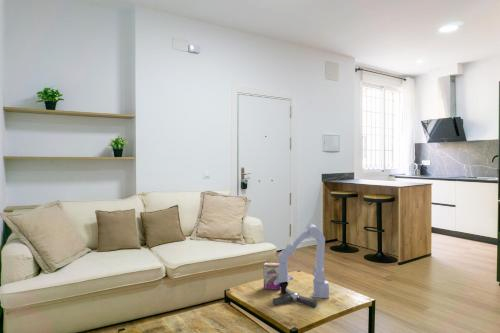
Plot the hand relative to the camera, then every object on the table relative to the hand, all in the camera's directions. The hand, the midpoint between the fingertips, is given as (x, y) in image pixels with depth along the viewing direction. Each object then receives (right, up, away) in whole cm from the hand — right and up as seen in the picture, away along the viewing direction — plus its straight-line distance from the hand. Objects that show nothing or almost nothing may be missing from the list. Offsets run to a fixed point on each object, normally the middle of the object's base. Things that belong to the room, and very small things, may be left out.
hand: (283, 293), depth 206 cm
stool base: (+6, -2, -10) cm, 12 cm away
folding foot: (+2, -1, 0) cm, 3 cm away
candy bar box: (-6, -2, +12) cm, 13 cm away
